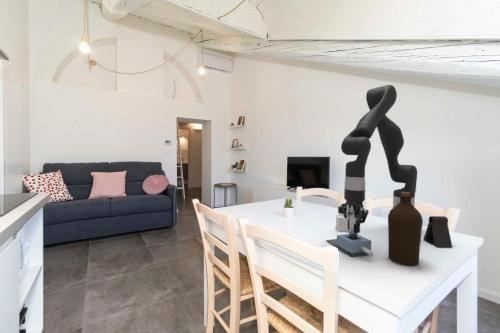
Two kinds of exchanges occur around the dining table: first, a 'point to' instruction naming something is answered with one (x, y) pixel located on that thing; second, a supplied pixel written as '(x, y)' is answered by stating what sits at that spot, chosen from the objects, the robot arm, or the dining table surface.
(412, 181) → the robot arm
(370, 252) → the block
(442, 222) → the black folding stand
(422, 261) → the dining table surface
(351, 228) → the chuck key
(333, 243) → the rubber pad
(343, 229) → the medicine bottle
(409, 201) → the olive oil
